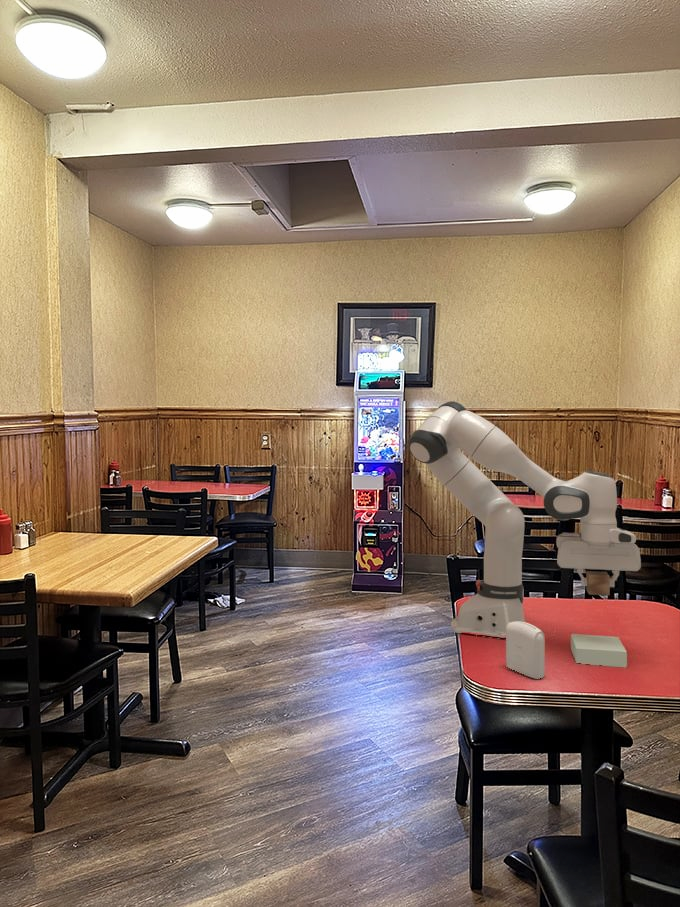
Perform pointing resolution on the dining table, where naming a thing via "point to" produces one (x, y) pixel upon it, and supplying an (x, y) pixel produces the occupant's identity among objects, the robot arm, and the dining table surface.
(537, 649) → the white slotted box
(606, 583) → the walnut cube
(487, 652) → the dining table surface
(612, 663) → the mint base block
